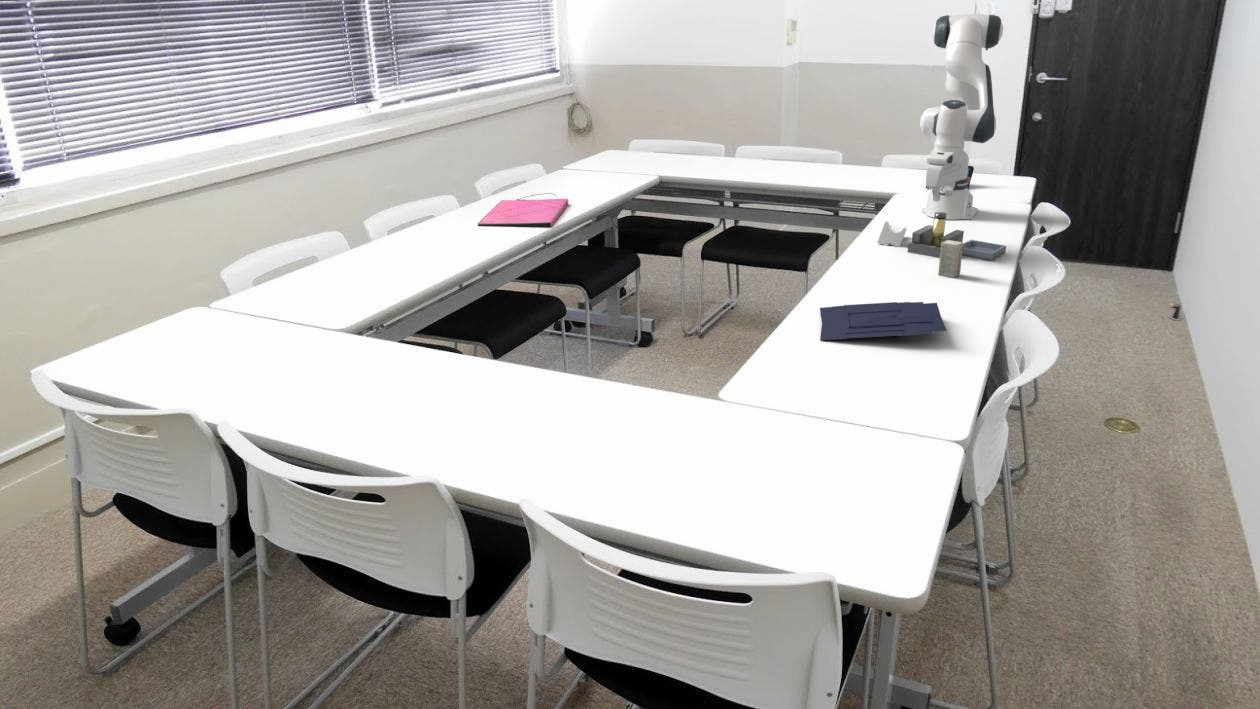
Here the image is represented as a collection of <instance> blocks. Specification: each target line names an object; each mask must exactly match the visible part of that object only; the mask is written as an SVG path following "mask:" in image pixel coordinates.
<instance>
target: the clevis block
mask: <svg viewBox="0 0 1260 709" xmlns="http://www.w3.org/2000/svg"><path fill="white" fill-rule="evenodd" d="M932 232H933V225H930V224H928V225H926V226H924V227H921V228H919V229H917V230H915V231H913V232H912V235H911V242H908V245H907V253H910V254H917V255H921V256H926V257H931V258H937V259H940V252H941V243H942V242H944V241H947V240H952V241H958V242H963V240H964V234H965V231H964V230H961V229H954V230H953V231H951V232H949V233H947V234H944V236H943V237H941V242H940V247H935V246H931V240H932ZM963 243H964V242H963Z"/></svg>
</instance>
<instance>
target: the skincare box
mask: <svg viewBox="0 0 1260 709" xmlns="http://www.w3.org/2000/svg"><path fill="white" fill-rule="evenodd" d="M963 244H964V242H958V241H952V240H947V241H944V242H942V243H941V252H940V258H939V262H938V263H939V264H938V273H937V275H938V276H942V277H947V278H948V277H949V278H957V277H958V276H960V275H961V270H962V269H961V268H962V267H961V266H962V257H963V256H962V251H963Z"/></svg>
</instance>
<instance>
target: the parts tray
mask: <svg viewBox="0 0 1260 709" xmlns="http://www.w3.org/2000/svg"><path fill="white" fill-rule="evenodd" d="M1006 252H1007V245H1004V244H997V243H993V242H987V241H981V240H974V239H970V240H968V241H966V242H963V251H962V257H964V258H965V257H966V258H970V259H977V260H981V261H987V262H991V261H992V262H993V261H995V260H997V259H998V258H1000V257H1002V256H1003V255H1005V254H1006ZM1001 255H1002V256H1001ZM996 258H997V259H996Z"/></svg>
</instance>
